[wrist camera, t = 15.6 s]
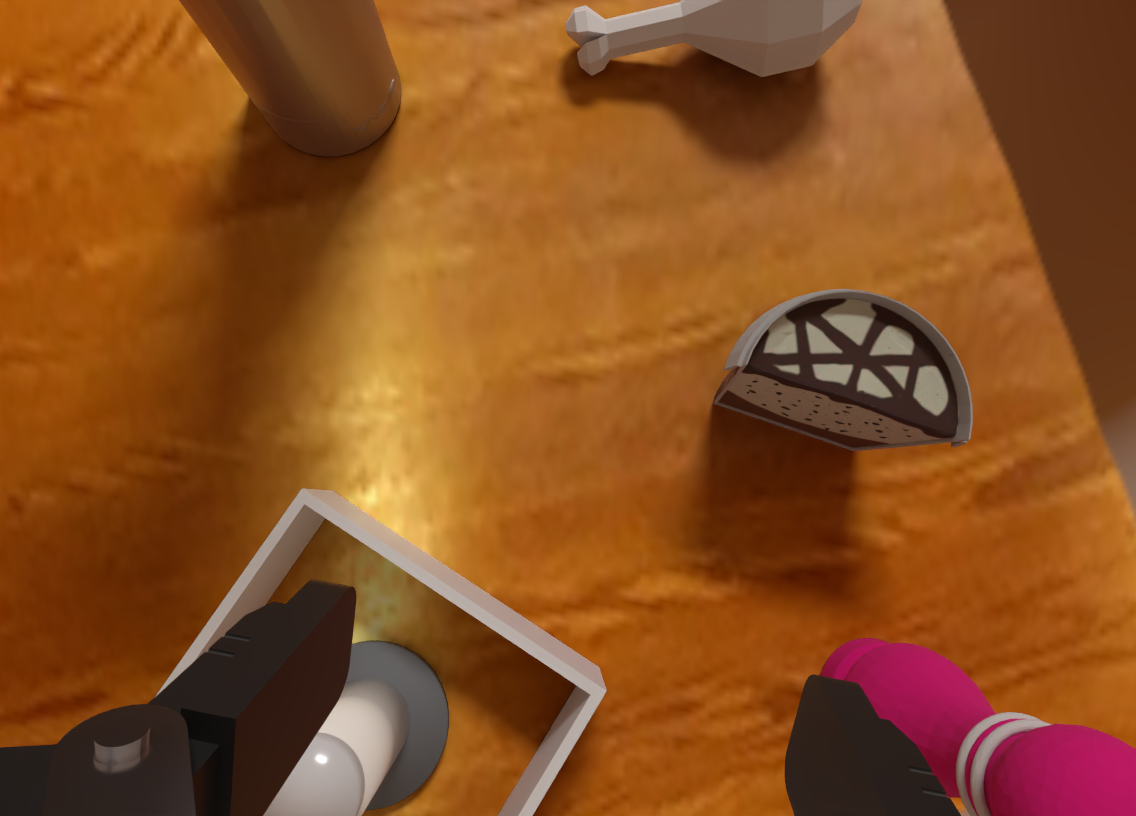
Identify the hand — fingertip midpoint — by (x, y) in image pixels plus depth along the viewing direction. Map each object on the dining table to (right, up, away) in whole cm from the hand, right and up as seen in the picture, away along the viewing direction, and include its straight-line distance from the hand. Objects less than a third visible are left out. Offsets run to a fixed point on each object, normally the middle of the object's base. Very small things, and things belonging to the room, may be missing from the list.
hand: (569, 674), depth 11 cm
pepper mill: (+18, -12, +28) cm, 35 cm away
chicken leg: (+9, +29, +34) cm, 46 cm away
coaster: (-11, -13, +26) cm, 32 cm away
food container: (+15, +6, +30) cm, 34 cm away
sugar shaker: (-12, -13, +26) cm, 31 cm away
